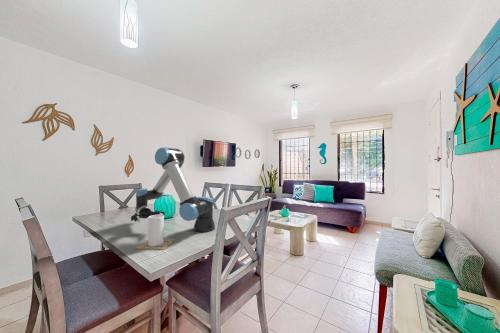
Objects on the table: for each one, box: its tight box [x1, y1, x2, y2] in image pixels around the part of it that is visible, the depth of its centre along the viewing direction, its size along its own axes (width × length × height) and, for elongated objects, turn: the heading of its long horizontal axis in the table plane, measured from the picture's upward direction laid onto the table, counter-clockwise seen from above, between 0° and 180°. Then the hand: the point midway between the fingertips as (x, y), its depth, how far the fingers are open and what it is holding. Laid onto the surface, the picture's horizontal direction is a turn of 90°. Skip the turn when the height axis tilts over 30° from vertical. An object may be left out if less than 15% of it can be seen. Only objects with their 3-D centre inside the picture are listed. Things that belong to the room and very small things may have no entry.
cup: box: [147, 215, 165, 246], centre depth 115 cm, size 8×8×16 cm
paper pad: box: [135, 239, 175, 250], centre depth 115 cm, size 16×13×1 cm
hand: (151, 218), depth 124 cm, fingers open, 13 cm apart
